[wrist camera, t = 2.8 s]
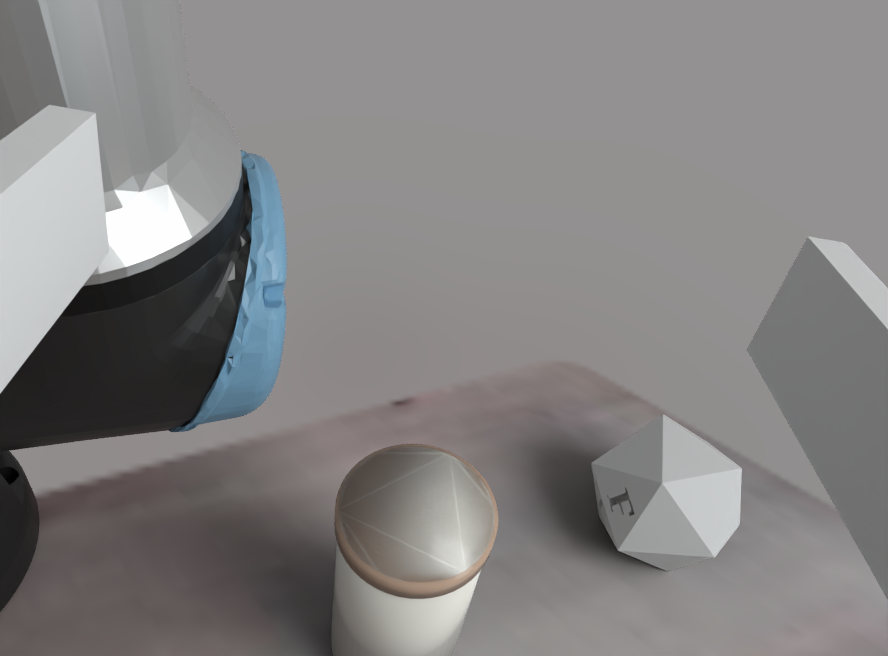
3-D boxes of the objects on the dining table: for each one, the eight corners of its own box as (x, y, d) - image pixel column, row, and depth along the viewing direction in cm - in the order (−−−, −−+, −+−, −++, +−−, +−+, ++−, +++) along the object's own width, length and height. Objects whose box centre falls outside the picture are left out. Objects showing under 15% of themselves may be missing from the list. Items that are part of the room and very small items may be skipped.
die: (585, 460, 49) (562, 432, 41) (711, 424, 47) (715, 387, 39) (623, 584, 46) (606, 582, 37) (760, 550, 44) (776, 540, 36)
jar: (311, 687, 36) (314, 565, 27) (347, 564, 41) (358, 430, 32) (446, 718, 35) (488, 603, 27) (465, 590, 40) (505, 461, 32)
